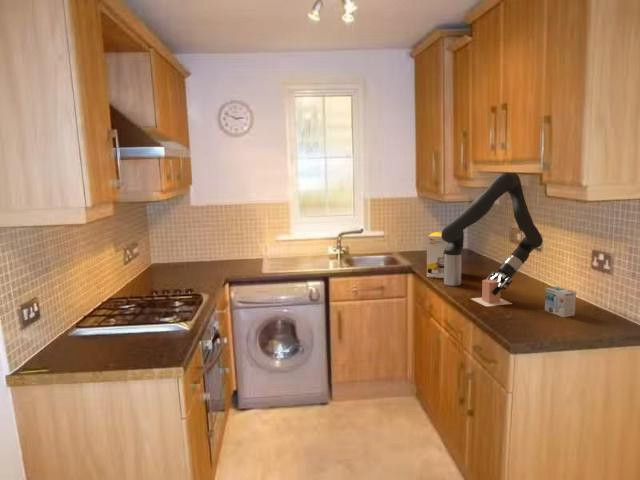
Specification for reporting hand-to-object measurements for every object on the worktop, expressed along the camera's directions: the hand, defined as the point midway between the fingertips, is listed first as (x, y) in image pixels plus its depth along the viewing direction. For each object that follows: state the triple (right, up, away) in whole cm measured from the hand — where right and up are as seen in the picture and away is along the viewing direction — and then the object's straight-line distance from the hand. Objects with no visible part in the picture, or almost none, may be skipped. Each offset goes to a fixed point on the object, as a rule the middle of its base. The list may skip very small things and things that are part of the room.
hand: (488, 291), depth 225 cm
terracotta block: (+2, -5, +1) cm, 5 cm away
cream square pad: (+2, -5, +1) cm, 5 cm away
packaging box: (-6, +3, +59) cm, 60 cm away
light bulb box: (+25, -8, -18) cm, 32 cm away
